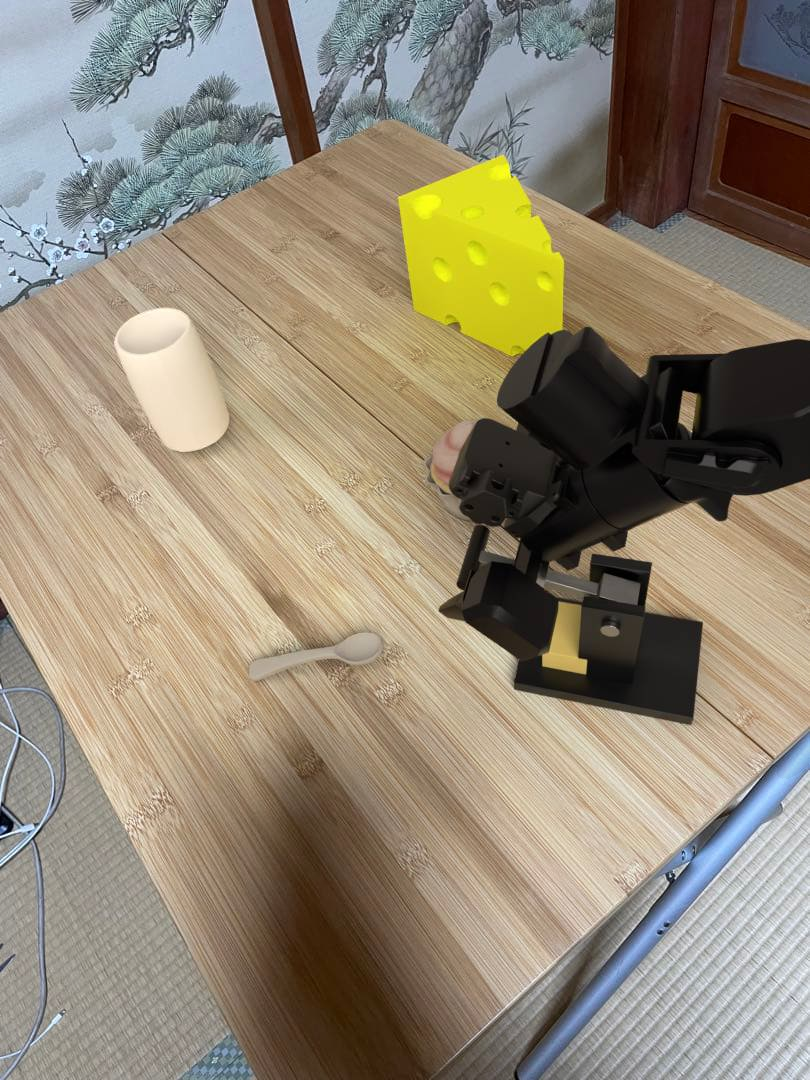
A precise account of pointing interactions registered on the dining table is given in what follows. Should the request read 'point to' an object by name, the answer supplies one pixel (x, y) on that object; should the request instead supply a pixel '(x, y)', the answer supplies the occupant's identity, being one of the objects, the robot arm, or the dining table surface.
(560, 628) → the butter
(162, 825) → the dining table surface
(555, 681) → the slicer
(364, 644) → the spoon
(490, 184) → the cheese wedge
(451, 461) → the cupcake
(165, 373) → the cup
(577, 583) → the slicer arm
